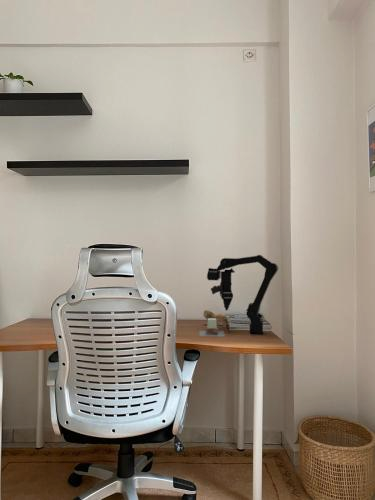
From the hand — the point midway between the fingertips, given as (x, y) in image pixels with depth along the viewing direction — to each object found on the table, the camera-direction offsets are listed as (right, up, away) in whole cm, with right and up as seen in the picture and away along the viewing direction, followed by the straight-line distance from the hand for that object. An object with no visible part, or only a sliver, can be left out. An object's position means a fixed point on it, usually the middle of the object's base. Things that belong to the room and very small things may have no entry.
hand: (226, 309), depth 211 cm
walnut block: (-8, -11, -10) cm, 17 cm away
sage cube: (-8, -8, -10) cm, 15 cm away
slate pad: (-8, -12, -10) cm, 18 cm away
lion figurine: (-5, -13, +16) cm, 21 cm away
